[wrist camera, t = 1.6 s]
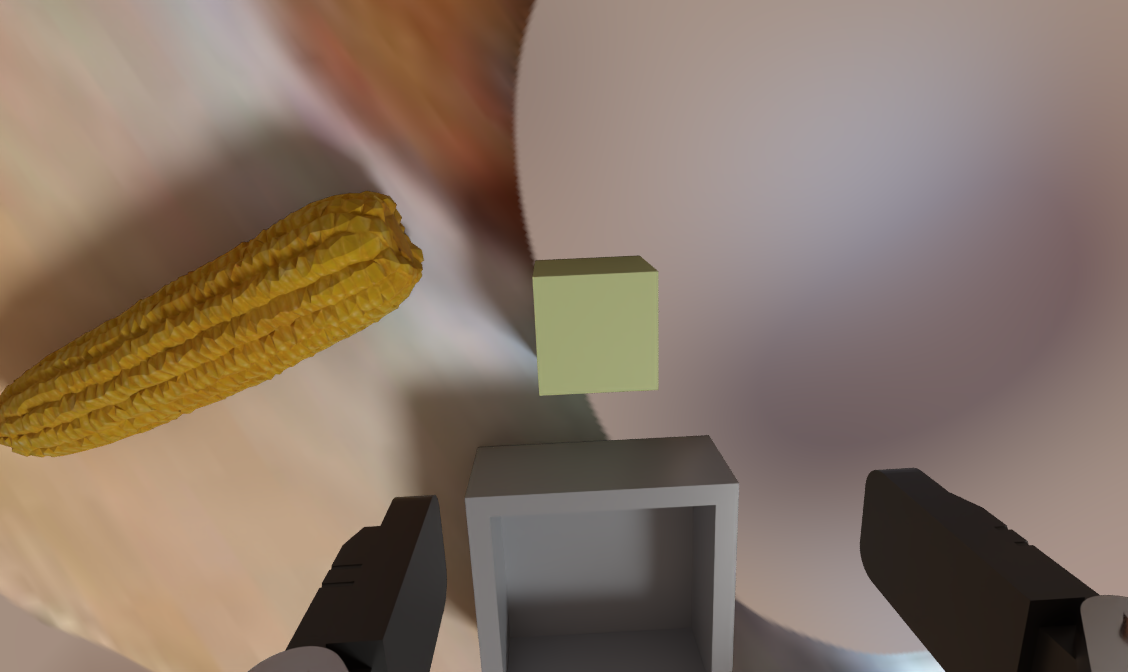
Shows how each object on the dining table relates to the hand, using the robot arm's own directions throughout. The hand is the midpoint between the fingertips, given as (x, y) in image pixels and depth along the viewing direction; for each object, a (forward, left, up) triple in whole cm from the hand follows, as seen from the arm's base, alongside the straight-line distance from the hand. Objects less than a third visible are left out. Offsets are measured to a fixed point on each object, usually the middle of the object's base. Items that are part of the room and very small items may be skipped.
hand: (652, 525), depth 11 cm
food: (+17, 0, -19) cm, 25 cm away
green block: (0, 0, -19) cm, 19 cm away
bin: (0, +13, -18) cm, 22 cm away
